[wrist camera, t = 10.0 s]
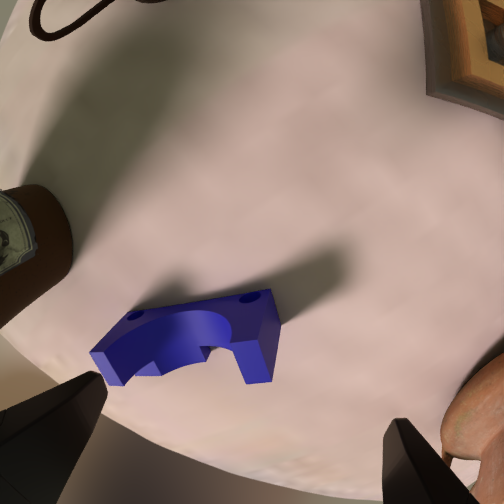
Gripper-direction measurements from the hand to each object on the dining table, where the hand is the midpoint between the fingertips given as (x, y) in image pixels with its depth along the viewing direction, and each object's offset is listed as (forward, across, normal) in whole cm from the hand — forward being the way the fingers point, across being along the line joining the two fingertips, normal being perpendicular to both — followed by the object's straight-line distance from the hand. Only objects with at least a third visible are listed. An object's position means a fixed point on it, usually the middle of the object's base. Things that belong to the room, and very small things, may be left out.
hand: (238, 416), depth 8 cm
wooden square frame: (+11, -13, -16) cm, 23 cm away
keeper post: (+12, -13, -16) cm, 24 cm away
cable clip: (+13, +5, +6) cm, 15 cm away
